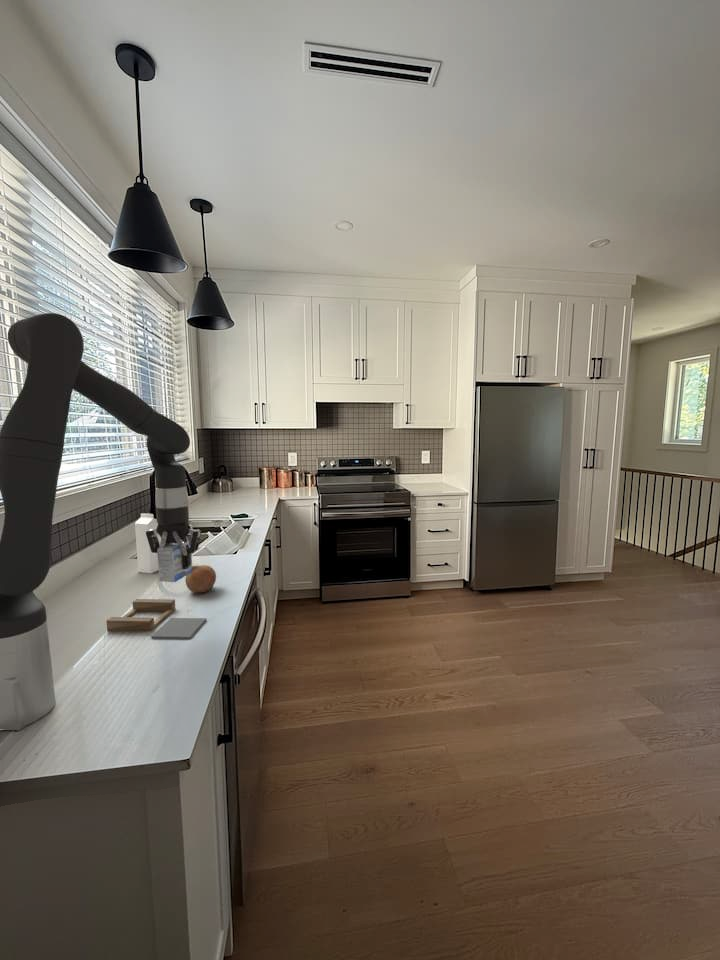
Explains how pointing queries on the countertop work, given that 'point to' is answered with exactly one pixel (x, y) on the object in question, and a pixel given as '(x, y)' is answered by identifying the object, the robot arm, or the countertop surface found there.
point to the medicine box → (171, 563)
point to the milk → (146, 544)
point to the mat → (179, 628)
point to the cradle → (142, 623)
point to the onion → (200, 579)
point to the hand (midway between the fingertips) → (175, 567)
